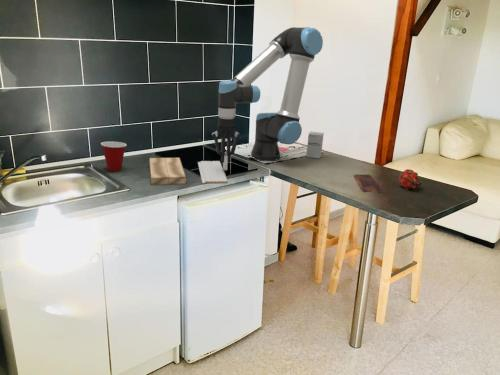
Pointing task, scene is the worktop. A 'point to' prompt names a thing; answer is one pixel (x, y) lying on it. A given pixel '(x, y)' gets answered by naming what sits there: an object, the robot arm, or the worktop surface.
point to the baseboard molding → (211, 172)
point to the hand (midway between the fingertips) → (225, 169)
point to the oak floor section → (167, 171)
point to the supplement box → (314, 144)
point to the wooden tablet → (368, 184)
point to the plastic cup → (114, 154)
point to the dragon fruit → (409, 179)
